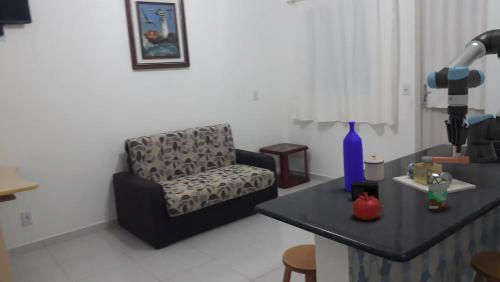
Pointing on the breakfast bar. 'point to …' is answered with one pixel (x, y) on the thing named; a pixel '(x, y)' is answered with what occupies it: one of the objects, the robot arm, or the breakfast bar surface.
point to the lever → (445, 159)
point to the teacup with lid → (374, 168)
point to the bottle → (352, 158)
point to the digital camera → (364, 189)
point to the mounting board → (409, 181)
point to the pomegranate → (366, 207)
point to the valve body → (426, 172)
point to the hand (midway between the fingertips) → (456, 160)
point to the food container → (438, 193)
